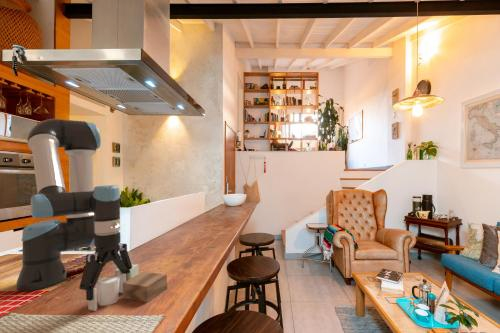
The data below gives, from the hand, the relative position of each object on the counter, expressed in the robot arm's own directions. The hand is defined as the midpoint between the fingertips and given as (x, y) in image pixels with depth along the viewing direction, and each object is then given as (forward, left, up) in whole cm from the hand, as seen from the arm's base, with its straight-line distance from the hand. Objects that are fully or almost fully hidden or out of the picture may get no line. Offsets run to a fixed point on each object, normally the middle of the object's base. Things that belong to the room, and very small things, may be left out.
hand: (108, 300), depth 85 cm
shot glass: (0, 0, 0) cm, 0 cm away
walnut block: (+8, +8, 0) cm, 11 cm away
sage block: (-5, +13, 0) cm, 14 cm away
